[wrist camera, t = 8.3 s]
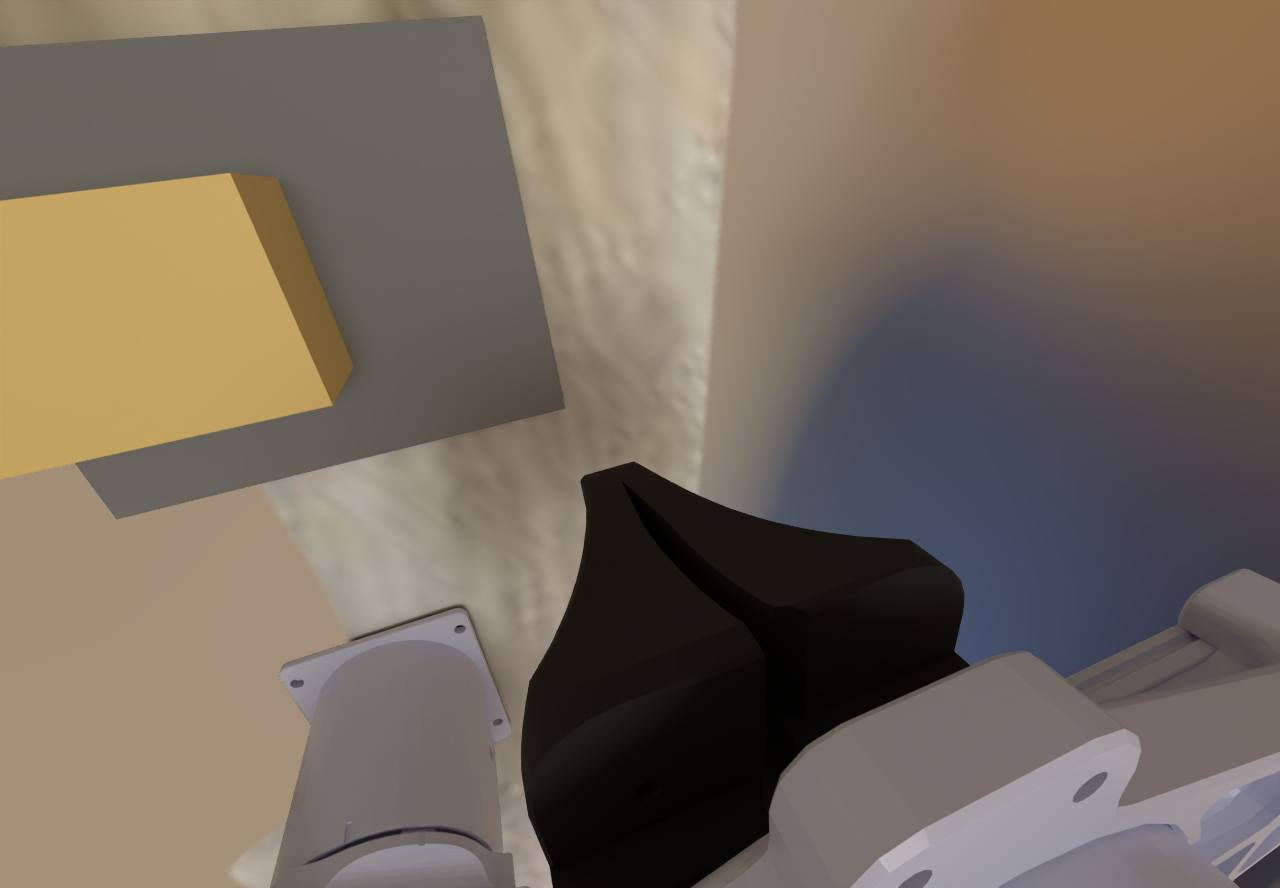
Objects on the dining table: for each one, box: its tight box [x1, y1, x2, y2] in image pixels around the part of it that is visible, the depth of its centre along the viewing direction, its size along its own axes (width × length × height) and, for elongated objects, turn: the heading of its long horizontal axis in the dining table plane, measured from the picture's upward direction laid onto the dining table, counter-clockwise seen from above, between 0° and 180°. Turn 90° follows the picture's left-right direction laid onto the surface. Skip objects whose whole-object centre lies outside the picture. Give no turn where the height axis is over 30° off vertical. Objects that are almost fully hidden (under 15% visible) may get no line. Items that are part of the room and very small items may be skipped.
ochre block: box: [0, 173, 354, 479], centre depth 14 cm, size 6×4×9 cm
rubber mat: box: [0, 16, 565, 519], centre depth 17 cm, size 13×16×1 cm
